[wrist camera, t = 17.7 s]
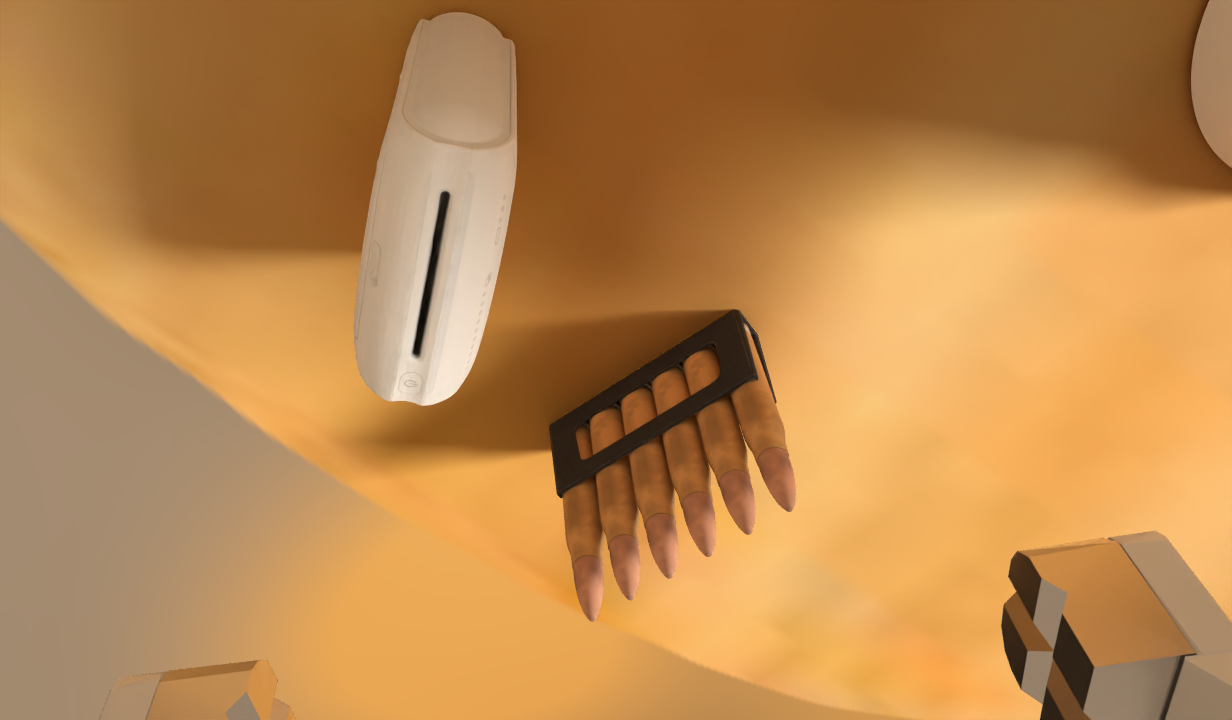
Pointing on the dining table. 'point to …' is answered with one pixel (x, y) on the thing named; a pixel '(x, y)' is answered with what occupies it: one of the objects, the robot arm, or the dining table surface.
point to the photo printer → (438, 211)
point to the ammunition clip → (668, 455)
